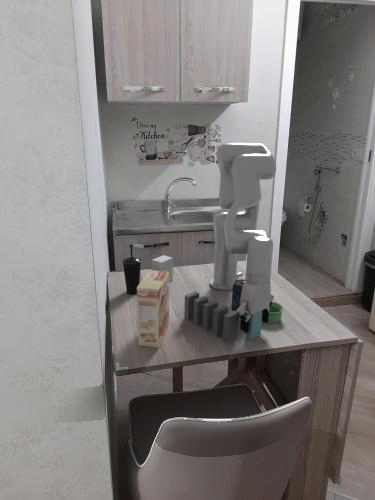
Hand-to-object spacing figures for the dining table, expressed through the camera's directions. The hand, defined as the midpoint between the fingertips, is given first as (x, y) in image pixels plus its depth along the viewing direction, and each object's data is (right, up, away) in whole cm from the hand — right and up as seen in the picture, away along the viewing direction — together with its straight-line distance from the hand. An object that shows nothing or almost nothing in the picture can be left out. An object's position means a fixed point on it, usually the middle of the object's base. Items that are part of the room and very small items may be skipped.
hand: (254, 326), depth 119 cm
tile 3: (-17, -1, +9) cm, 19 cm away
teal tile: (0, -3, +1) cm, 4 cm away
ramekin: (+8, 0, +13) cm, 15 cm away
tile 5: (-11, -3, +3) cm, 11 cm away
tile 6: (-8, -4, 0) cm, 9 cm away
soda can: (-2, +1, +16) cm, 17 cm away
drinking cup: (-44, +7, +32) cm, 54 cm away
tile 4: (-14, -2, +6) cm, 15 cm away
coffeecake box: (-32, -3, +1) cm, 32 cm away
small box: (-32, +11, +43) cm, 55 cm away
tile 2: (-20, +1, +13) cm, 24 cm away
